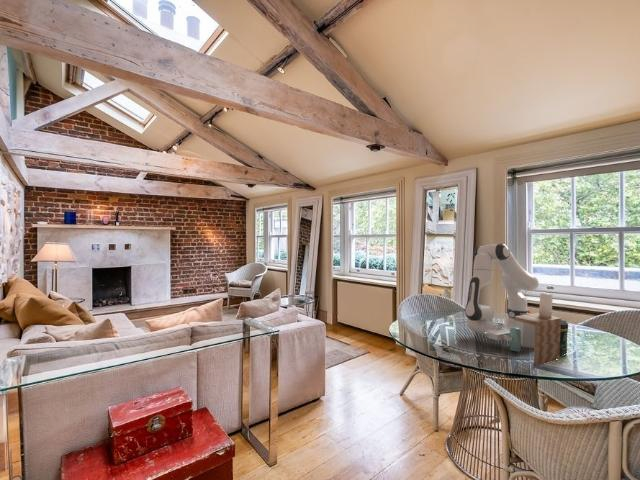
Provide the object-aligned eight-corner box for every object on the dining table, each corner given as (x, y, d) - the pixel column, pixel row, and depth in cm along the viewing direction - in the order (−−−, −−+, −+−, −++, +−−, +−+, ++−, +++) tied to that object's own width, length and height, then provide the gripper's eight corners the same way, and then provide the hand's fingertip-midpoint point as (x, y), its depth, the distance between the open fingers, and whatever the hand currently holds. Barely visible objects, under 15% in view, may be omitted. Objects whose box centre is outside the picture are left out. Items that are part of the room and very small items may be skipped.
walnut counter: (535, 351, 178) (536, 312, 177) (559, 359, 167) (560, 318, 166) (513, 357, 169) (514, 316, 168) (536, 366, 158) (538, 322, 157)
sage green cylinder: (512, 347, 179) (513, 326, 179) (522, 350, 175) (523, 328, 174) (506, 348, 177) (507, 327, 177) (516, 352, 172) (517, 330, 172)
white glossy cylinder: (541, 314, 172) (542, 292, 172) (553, 317, 168) (554, 294, 168) (537, 315, 169) (538, 293, 169) (549, 318, 165) (550, 295, 165)
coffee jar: (561, 357, 169) (562, 323, 168) (544, 352, 176) (546, 319, 175) (569, 354, 174) (570, 321, 174) (552, 349, 181) (554, 317, 180)
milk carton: (532, 344, 188) (534, 313, 188) (536, 348, 182) (538, 316, 181) (519, 343, 191) (520, 311, 190) (522, 347, 184) (523, 314, 183)
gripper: (481, 327, 182) (505, 335, 170) (504, 323, 192) (528, 330, 179) (481, 338, 183) (504, 346, 170) (504, 333, 192) (527, 341, 179)
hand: (516, 338), depth 175 cm, fingers closed on sage green cylinder, 5 cm apart
